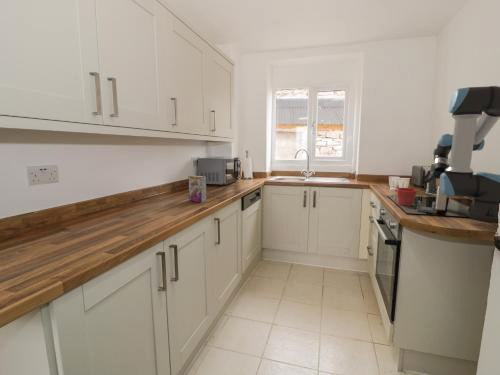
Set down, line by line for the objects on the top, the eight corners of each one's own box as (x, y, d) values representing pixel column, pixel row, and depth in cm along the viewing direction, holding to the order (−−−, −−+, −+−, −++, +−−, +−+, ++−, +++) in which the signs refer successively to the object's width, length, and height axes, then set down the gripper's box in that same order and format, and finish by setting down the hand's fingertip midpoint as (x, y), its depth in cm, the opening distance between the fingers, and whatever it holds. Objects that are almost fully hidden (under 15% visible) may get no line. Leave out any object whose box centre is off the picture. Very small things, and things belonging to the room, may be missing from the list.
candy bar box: (188, 200, 175) (187, 175, 173) (194, 199, 179) (193, 175, 177) (201, 203, 169) (200, 177, 167) (206, 201, 173) (206, 176, 171)
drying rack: (434, 210, 153) (435, 201, 152) (436, 213, 146) (437, 204, 146) (416, 208, 157) (417, 200, 156) (416, 211, 151) (417, 202, 150)
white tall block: (443, 208, 159) (446, 186, 157) (445, 210, 154) (447, 187, 152) (435, 207, 161) (437, 185, 159) (436, 209, 156) (439, 187, 154)
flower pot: (419, 206, 163) (421, 190, 162) (401, 206, 163) (402, 190, 162) (409, 202, 174) (411, 187, 172) (392, 202, 174) (393, 187, 172)
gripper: (464, 171, 165) (466, 199, 154) (416, 169, 177) (415, 195, 166) (467, 163, 160) (469, 192, 149) (418, 161, 171) (417, 188, 161)
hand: (441, 193), depth 158 cm, fingers open, 13 cm apart
